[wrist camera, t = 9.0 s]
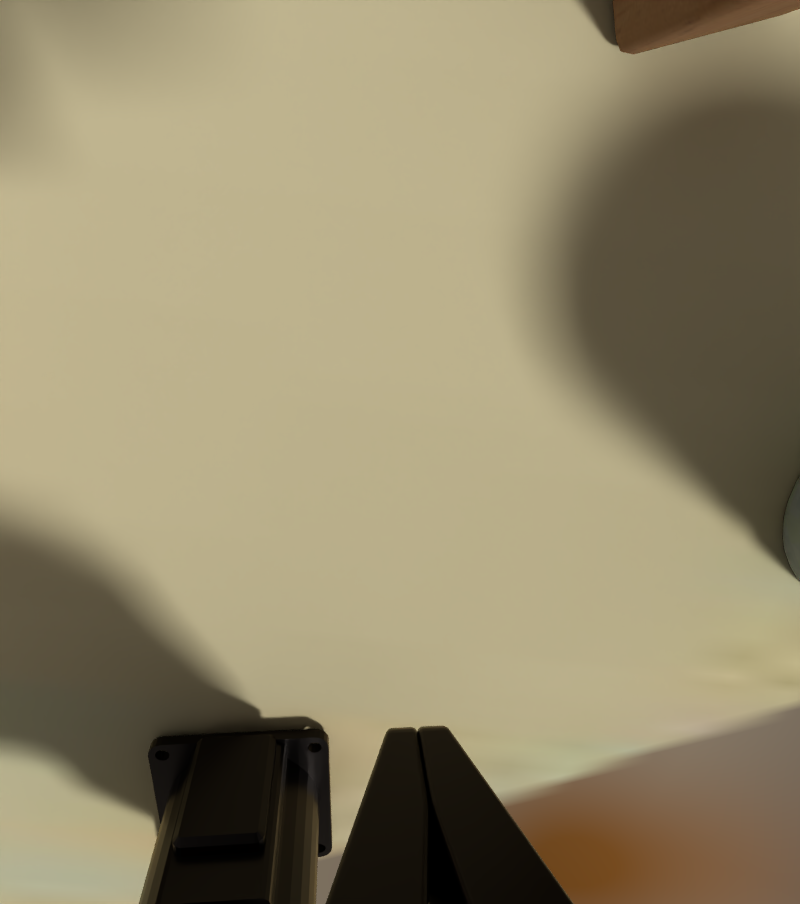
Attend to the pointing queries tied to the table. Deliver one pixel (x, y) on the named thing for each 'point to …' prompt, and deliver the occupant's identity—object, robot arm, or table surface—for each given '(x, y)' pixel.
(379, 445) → the table surface
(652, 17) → the wooden block
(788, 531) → the drinking glass
